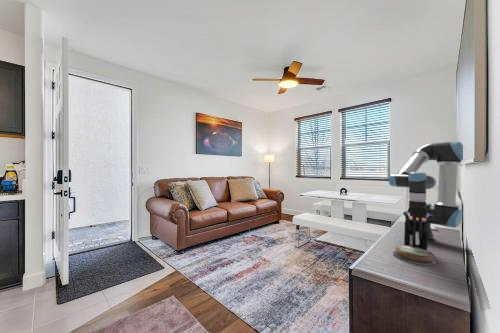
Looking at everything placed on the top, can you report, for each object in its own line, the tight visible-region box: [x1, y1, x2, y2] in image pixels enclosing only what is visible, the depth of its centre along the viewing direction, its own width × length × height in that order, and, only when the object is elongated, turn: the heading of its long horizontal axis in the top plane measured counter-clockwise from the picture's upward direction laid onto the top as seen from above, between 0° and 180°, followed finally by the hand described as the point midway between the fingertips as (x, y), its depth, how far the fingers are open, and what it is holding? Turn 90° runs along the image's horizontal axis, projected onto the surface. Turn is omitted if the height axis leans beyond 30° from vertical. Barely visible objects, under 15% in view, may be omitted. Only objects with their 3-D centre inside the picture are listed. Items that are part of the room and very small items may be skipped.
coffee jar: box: [403, 215, 428, 250], centre depth 127 cm, size 11×11×18 cm
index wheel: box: [395, 235, 435, 263], centre depth 114 cm, size 16×16×9 cm
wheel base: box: [392, 250, 437, 267], centre depth 114 cm, size 18×18×1 cm
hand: (417, 244), depth 118 cm, fingers closed
